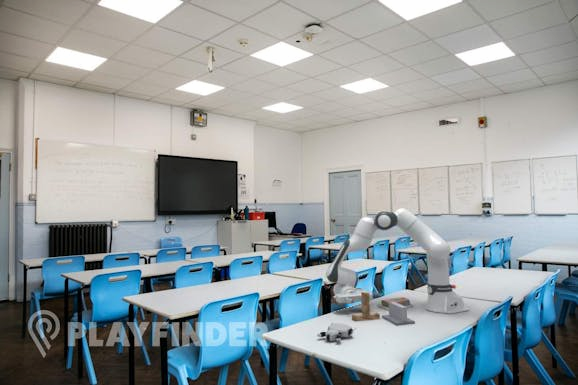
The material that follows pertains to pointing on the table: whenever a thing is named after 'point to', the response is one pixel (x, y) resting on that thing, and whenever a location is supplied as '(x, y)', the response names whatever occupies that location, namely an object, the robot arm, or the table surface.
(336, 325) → the robot toy
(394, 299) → the packaged product
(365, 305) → the wooden t-shaped block
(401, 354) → the table surface
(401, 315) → the ridge stand
